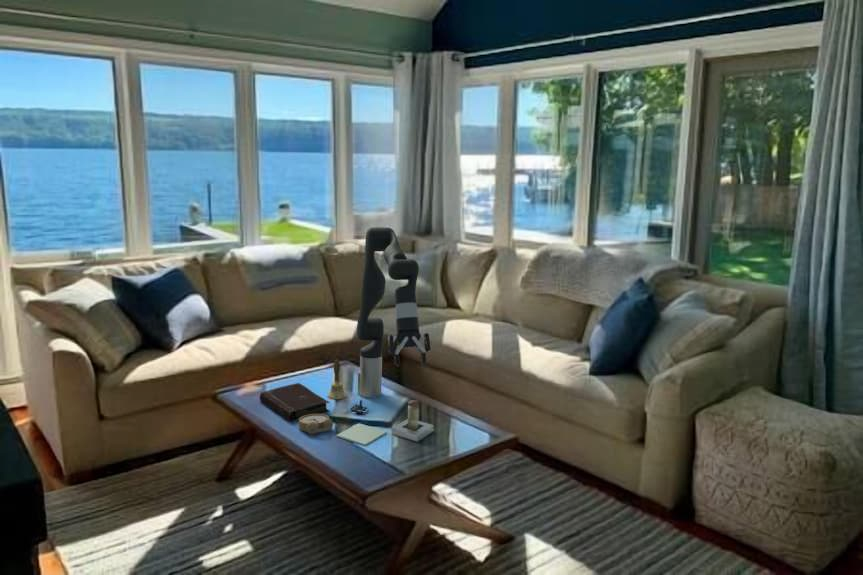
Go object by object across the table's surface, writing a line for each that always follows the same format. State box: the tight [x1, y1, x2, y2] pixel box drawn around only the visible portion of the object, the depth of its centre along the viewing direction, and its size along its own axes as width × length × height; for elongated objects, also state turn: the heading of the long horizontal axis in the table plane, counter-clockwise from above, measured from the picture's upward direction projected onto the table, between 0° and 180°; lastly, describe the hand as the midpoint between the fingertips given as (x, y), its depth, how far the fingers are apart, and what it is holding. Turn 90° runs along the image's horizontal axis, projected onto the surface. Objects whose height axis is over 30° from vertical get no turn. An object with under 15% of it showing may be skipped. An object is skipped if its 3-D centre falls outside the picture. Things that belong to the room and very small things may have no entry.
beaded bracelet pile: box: [350, 399, 368, 414], centre depth 256 cm, size 8×7×8 cm
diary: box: [259, 382, 330, 423], centre depth 258 cm, size 19×25×5 cm
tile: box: [336, 423, 388, 447], centre depth 235 cm, size 13×13×1 cm
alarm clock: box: [298, 413, 334, 436], centre depth 238 cm, size 11×5×15 cm
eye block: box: [391, 418, 434, 442], centre depth 238 cm, size 11×11×2 cm
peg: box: [407, 399, 420, 431], centre depth 237 cm, size 4×4×12 cm
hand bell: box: [326, 359, 348, 400], centre depth 270 cm, size 8×8×16 cm
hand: (410, 365), depth 216 cm, fingers open, 8 cm apart
